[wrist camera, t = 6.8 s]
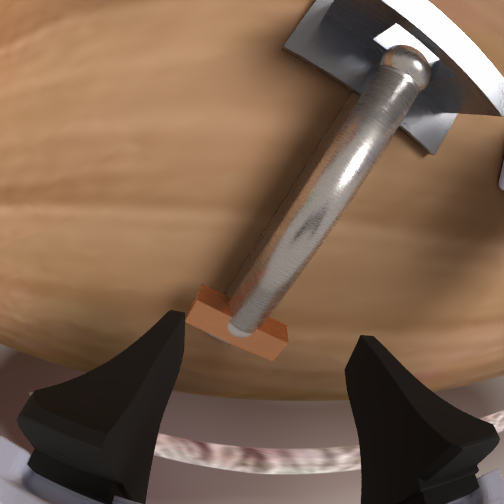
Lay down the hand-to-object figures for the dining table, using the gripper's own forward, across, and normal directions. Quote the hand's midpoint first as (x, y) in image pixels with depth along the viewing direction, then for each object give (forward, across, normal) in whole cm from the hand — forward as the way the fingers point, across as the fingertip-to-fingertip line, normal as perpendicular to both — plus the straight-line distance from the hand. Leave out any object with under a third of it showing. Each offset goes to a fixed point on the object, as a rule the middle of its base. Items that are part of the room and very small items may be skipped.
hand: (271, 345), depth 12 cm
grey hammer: (+10, -2, -6) cm, 12 cm away
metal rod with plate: (+7, -2, -5) cm, 9 cm away
